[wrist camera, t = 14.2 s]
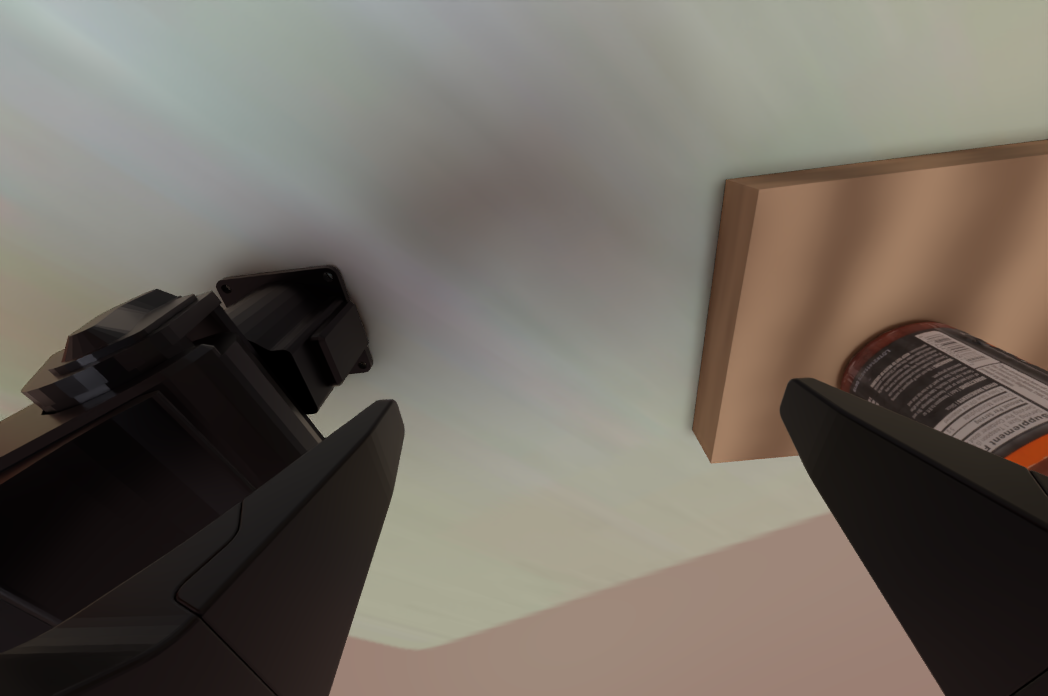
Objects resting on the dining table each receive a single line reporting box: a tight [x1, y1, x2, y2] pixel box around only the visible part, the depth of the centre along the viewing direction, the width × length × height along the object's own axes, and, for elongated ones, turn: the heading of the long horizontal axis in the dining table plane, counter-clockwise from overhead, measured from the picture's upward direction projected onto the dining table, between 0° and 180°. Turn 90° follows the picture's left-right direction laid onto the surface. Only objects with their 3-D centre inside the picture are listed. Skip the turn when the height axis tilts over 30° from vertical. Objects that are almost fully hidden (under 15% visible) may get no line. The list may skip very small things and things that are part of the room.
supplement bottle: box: [840, 322, 1048, 476], centre depth 16 cm, size 6×6×11 cm
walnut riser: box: [692, 140, 1048, 463], centre depth 21 cm, size 20×16×3 cm
